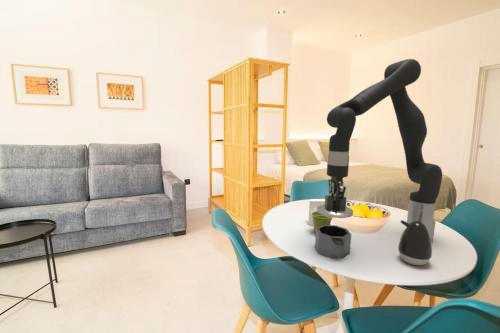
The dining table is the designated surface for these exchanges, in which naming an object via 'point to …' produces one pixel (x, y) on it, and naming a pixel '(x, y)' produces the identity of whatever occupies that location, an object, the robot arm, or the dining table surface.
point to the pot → (332, 241)
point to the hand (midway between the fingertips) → (334, 208)
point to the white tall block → (314, 208)
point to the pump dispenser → (415, 243)
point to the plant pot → (320, 220)
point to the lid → (330, 212)
